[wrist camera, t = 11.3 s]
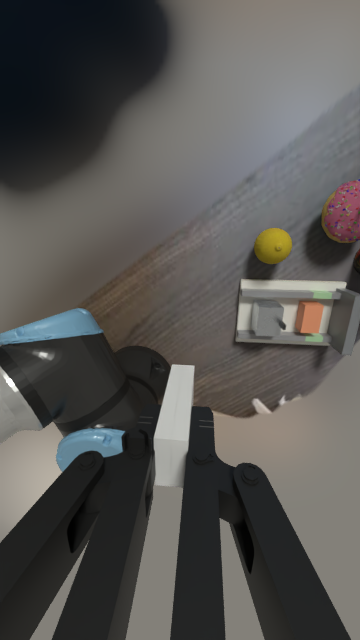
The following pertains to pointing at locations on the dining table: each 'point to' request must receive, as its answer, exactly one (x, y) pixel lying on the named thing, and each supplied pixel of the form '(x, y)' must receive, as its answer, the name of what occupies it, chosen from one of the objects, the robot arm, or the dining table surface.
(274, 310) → the gauge plunger
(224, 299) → the dining table surface
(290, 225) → the dining table surface
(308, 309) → the orange block
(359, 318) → the board
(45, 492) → the robot arm
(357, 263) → the deodorant
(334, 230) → the cupcake
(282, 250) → the lemon
